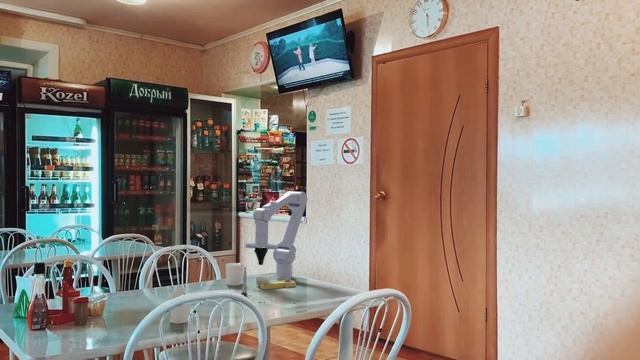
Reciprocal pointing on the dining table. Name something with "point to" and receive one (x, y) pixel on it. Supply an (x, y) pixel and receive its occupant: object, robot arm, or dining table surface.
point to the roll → (179, 308)
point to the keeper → (261, 281)
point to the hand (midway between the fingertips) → (260, 264)
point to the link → (277, 284)
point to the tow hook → (244, 284)
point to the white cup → (234, 273)
